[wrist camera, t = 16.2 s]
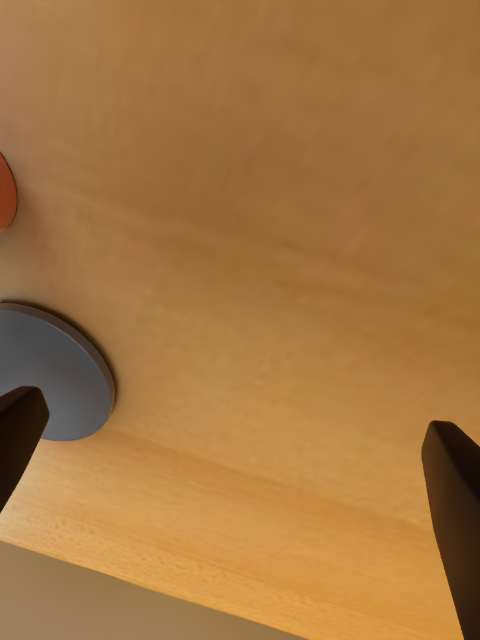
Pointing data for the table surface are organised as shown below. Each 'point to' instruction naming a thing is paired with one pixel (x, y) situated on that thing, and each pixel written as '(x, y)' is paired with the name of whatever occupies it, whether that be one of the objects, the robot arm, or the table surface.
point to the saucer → (55, 370)
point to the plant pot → (6, 195)
